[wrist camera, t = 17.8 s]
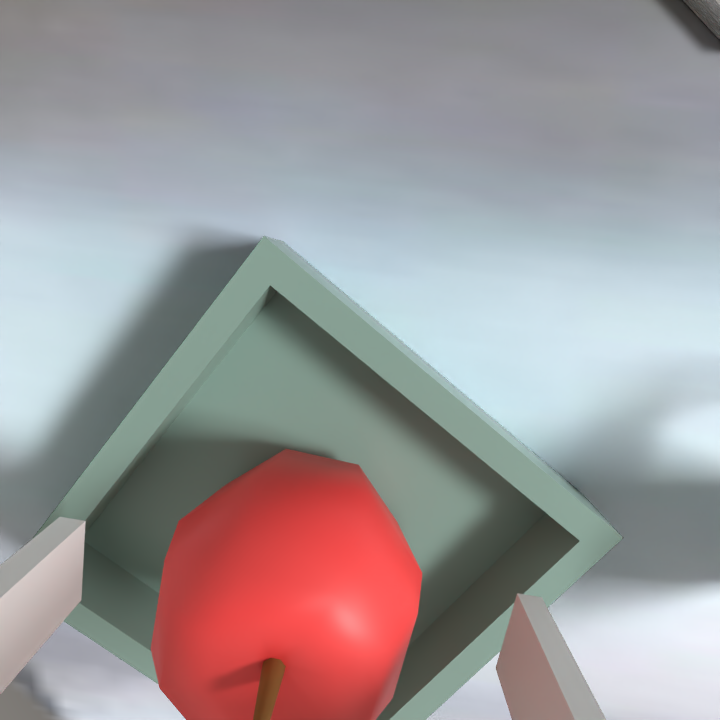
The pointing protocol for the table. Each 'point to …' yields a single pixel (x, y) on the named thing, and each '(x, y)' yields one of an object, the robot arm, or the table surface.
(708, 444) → the table surface
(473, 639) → the tray
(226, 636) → the apple
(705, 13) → the crank post
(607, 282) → the table surface
